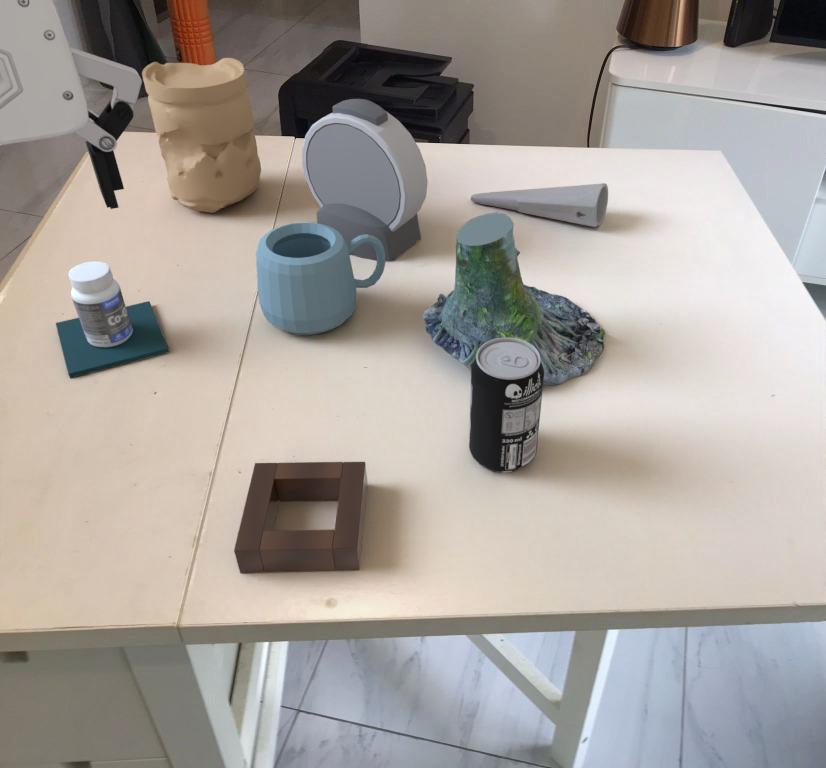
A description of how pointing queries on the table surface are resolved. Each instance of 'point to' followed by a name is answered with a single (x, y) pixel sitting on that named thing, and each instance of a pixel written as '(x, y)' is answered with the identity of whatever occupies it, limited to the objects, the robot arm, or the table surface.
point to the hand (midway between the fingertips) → (33, 214)
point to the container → (204, 131)
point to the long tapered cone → (554, 202)
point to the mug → (310, 277)
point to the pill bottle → (99, 304)
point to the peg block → (302, 547)
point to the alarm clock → (366, 176)
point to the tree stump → (509, 306)
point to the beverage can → (505, 404)
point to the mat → (137, 347)
